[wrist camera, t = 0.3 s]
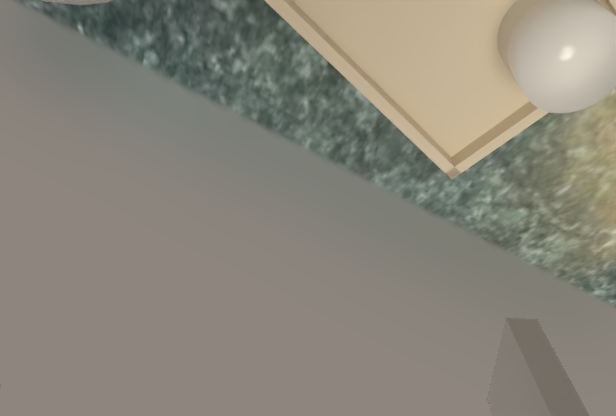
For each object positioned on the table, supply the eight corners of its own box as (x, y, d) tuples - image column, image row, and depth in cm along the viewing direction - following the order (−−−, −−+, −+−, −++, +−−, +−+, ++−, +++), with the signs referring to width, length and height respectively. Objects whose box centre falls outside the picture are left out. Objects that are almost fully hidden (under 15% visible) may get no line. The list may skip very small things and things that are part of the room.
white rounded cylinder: (566, -41, 32) (602, -12, 28) (613, 30, 35) (651, 65, 31) (478, 31, 35) (500, 66, 31) (528, 91, 37) (554, 131, 34)
